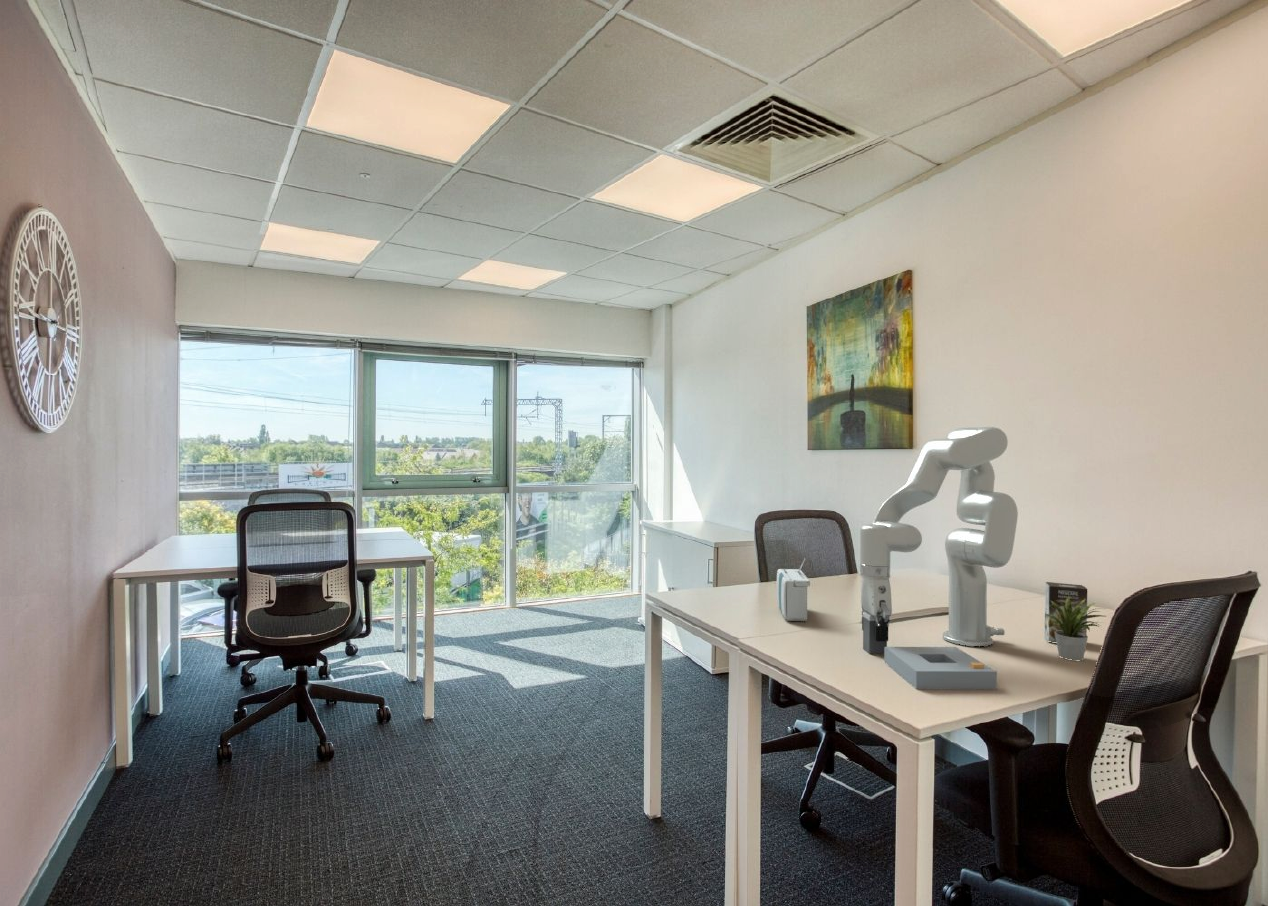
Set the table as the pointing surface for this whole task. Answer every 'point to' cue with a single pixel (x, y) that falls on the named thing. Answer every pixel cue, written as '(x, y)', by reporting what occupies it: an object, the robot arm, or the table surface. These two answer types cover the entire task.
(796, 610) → the stereo radio cassette player
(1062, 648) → the house plant
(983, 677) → the socket
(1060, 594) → the coffee box
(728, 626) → the table surface
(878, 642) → the plug
